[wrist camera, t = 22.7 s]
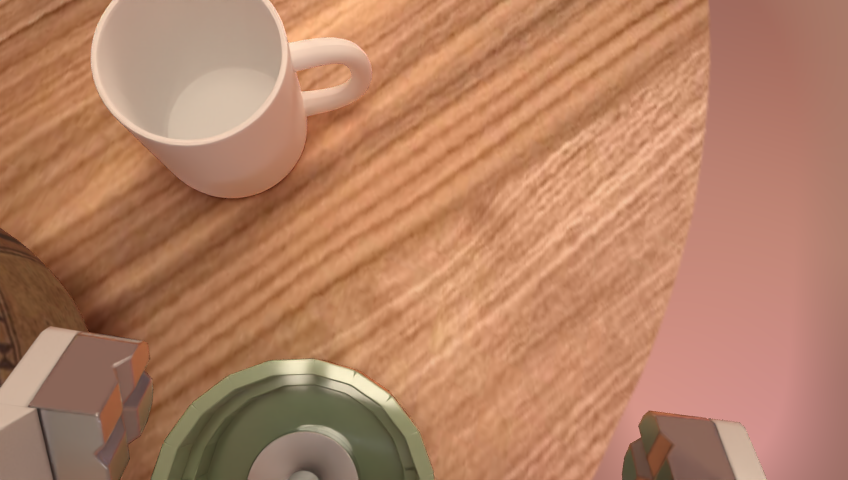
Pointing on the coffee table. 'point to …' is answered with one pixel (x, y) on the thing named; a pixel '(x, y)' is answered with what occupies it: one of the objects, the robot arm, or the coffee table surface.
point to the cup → (217, 87)
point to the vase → (29, 303)
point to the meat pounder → (305, 458)
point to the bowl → (292, 422)
